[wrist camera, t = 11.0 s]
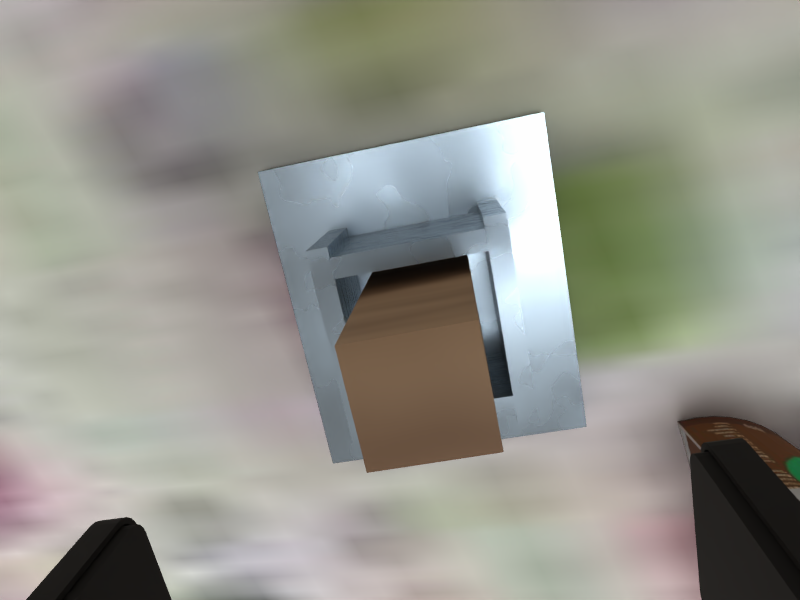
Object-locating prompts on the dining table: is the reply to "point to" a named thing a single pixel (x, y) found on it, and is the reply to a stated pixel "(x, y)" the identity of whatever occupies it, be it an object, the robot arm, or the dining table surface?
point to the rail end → (418, 368)
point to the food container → (775, 451)
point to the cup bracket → (435, 240)
